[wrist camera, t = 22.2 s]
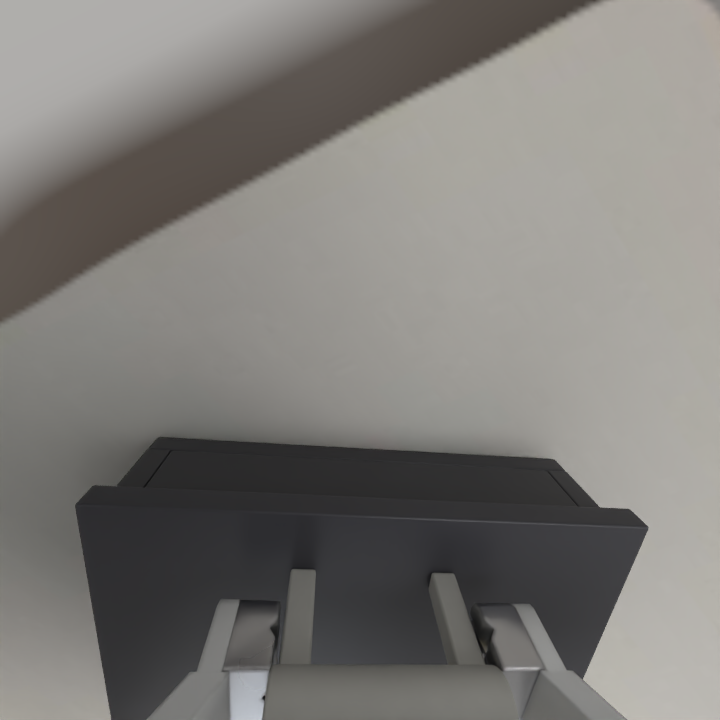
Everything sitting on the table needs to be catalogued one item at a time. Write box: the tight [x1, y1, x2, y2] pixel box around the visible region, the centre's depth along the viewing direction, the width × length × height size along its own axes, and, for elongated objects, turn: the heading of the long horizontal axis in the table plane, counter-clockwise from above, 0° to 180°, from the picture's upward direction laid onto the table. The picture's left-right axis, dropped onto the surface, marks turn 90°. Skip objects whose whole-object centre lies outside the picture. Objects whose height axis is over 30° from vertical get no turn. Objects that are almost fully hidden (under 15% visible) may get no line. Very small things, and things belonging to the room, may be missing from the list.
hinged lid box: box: [117, 438, 600, 508], centre depth 15 cm, size 15×16×4 cm
